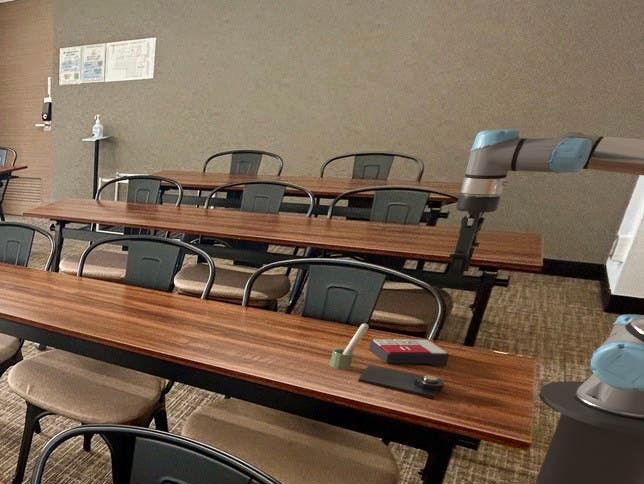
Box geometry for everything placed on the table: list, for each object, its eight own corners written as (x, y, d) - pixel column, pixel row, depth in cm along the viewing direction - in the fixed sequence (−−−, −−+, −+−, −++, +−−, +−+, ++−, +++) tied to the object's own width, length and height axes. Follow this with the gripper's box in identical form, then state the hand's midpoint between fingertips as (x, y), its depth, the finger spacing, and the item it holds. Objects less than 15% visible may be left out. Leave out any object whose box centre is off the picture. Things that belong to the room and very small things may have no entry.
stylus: (343, 365, 169) (370, 324, 161) (341, 368, 168) (369, 326, 160) (336, 362, 170) (363, 321, 162) (334, 364, 169) (361, 323, 161)
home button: (437, 381, 153) (438, 377, 152) (435, 385, 151) (436, 380, 151) (423, 378, 155) (424, 374, 154) (421, 382, 153) (422, 377, 153)
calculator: (370, 337, 177) (428, 337, 173) (367, 350, 179) (425, 350, 175) (388, 351, 168) (450, 352, 164) (385, 365, 169) (447, 365, 165)
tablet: (445, 384, 155) (447, 376, 155) (437, 400, 148) (440, 391, 147) (368, 368, 167) (370, 360, 166) (357, 382, 160) (359, 374, 159)
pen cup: (351, 366, 169) (355, 351, 167) (347, 372, 166) (350, 356, 164) (332, 362, 172) (335, 347, 171) (327, 367, 169) (331, 352, 168)
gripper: (495, 203, 133) (470, 290, 141) (505, 188, 149) (482, 267, 156) (452, 201, 139) (430, 285, 146) (466, 187, 154) (445, 264, 161)
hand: (457, 276), depth 151 cm, fingers open, 13 cm apart
